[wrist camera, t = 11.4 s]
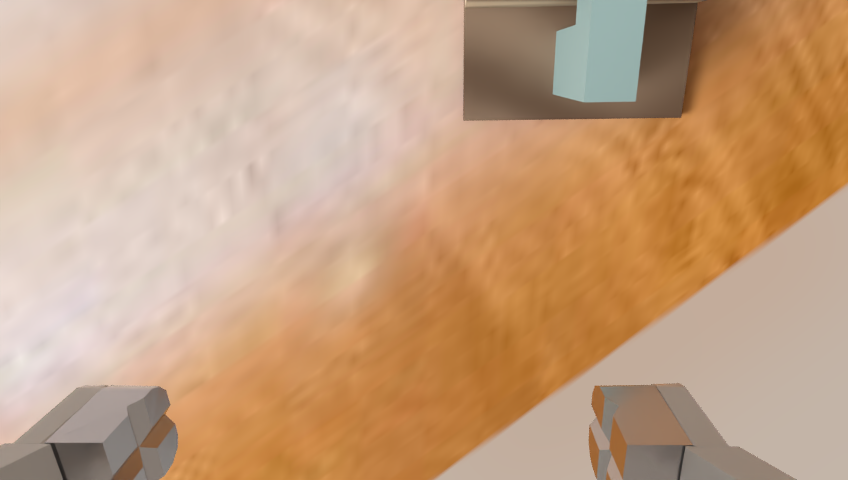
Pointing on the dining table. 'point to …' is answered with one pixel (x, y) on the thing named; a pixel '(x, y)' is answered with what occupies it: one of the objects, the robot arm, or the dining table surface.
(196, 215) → the dining table surface
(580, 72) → the green arch block
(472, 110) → the stand
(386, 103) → the dining table surface
